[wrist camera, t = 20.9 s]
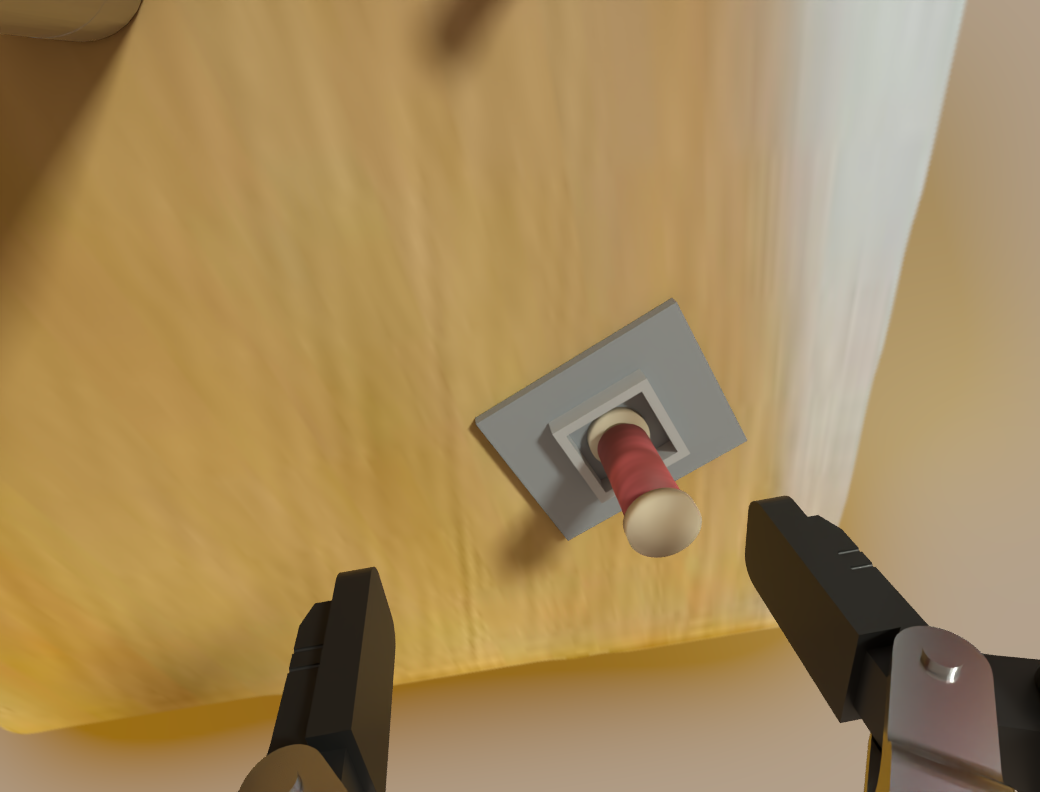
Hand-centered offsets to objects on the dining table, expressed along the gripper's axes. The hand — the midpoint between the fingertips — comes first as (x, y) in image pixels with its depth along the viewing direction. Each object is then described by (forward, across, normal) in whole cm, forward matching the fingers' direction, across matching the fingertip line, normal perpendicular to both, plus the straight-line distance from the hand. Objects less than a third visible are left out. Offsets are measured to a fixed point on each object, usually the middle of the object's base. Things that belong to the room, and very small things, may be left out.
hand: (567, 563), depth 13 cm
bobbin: (+32, -9, +18) cm, 38 cm away
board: (+33, -9, +18) cm, 39 cm away
